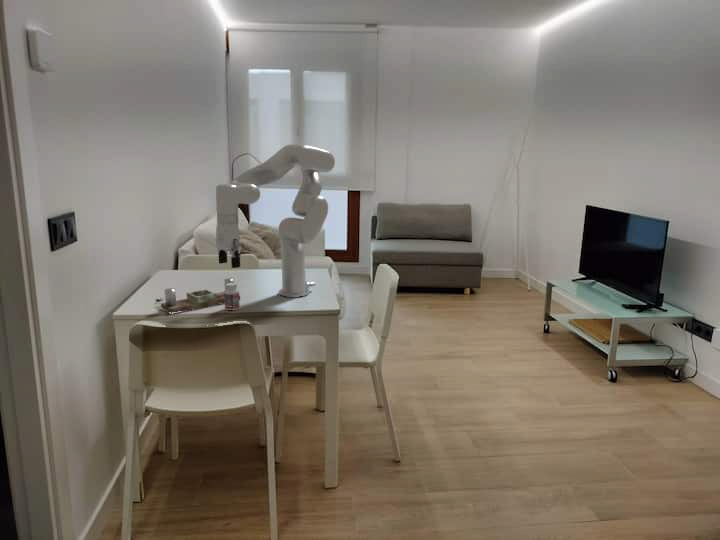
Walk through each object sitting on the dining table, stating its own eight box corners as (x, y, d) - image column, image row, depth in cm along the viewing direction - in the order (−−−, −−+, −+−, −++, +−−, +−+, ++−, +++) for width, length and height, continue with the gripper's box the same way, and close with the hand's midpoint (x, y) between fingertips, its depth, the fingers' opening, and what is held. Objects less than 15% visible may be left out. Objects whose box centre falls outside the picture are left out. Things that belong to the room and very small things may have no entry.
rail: (229, 295, 218) (228, 284, 217) (240, 300, 211) (239, 289, 210) (161, 308, 200) (160, 297, 199) (171, 314, 193) (170, 302, 192)
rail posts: (231, 292, 215) (231, 277, 214) (236, 294, 213) (235, 279, 211) (164, 305, 198) (163, 289, 196) (168, 307, 195) (167, 291, 194)
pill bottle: (236, 311, 197) (234, 286, 195) (222, 311, 198) (221, 285, 196) (241, 307, 202) (240, 282, 200) (228, 306, 203) (227, 281, 201)
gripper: (207, 217, 196) (209, 262, 200) (229, 222, 183) (231, 270, 187) (225, 215, 201) (227, 260, 205) (249, 220, 188) (250, 268, 192)
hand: (229, 265), depth 196 cm, fingers open, 9 cm apart
